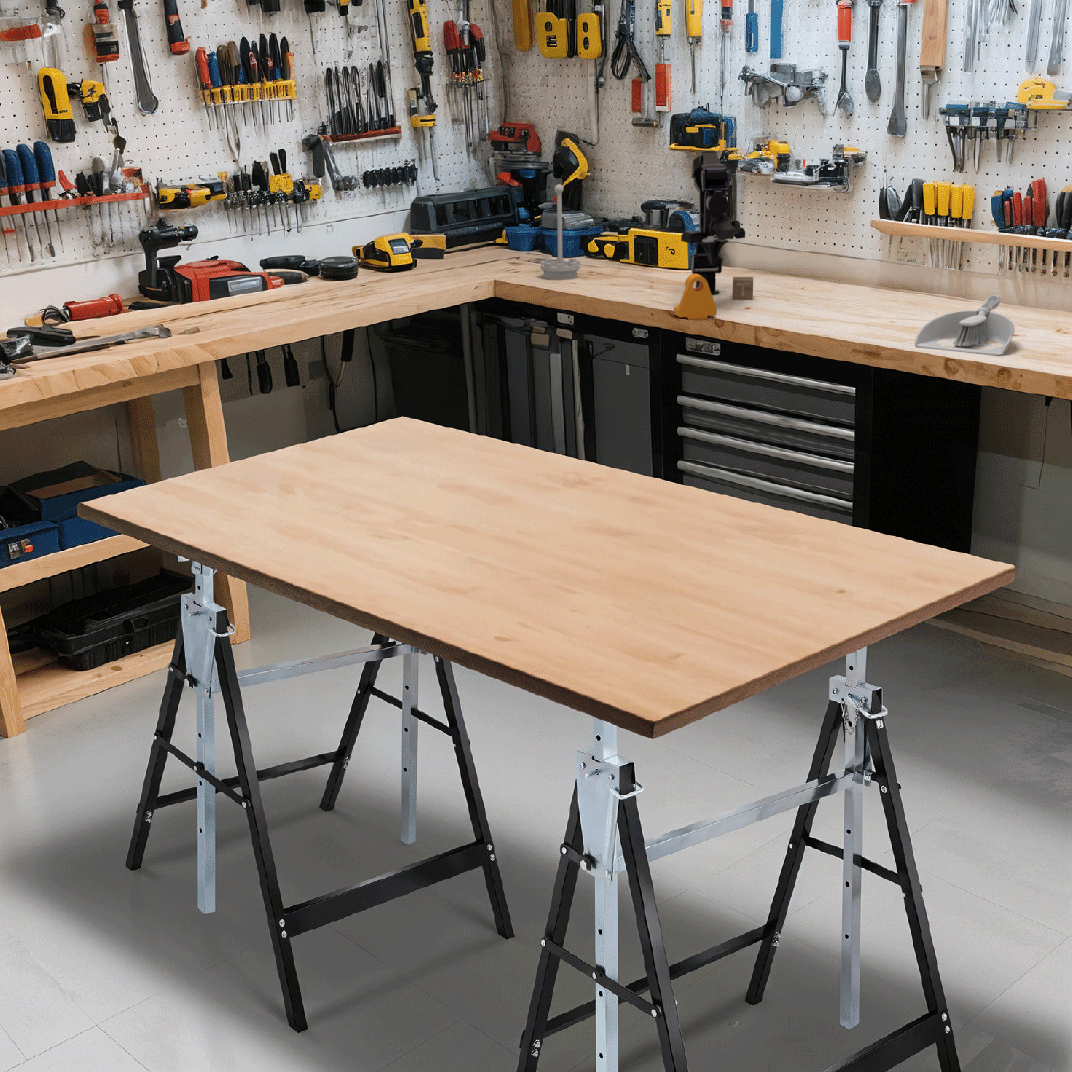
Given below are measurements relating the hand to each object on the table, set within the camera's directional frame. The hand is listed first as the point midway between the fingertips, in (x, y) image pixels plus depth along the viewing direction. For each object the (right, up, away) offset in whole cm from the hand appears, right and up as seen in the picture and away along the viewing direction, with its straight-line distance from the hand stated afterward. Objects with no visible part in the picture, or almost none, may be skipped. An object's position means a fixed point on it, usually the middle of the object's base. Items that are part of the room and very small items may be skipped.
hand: (712, 264), depth 399 cm
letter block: (+11, -8, +12) cm, 18 cm away
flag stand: (-44, +6, +53) cm, 69 cm away
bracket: (-7, -17, -12) cm, 22 cm away
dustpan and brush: (+62, -29, -47) cm, 83 cm away
